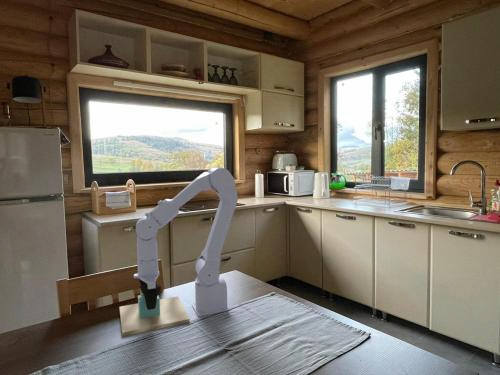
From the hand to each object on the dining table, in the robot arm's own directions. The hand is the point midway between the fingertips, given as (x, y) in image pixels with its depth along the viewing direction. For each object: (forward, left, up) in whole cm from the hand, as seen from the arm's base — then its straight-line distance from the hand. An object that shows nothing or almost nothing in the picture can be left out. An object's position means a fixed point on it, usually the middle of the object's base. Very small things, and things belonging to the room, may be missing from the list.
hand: (149, 303), depth 98 cm
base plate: (-1, 0, -4) cm, 4 cm away
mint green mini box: (0, 0, -3) cm, 3 cm away
